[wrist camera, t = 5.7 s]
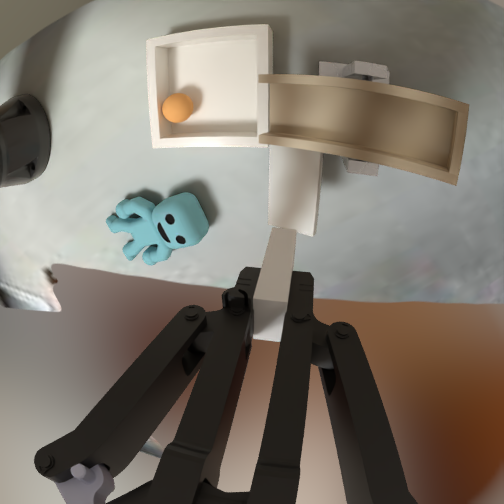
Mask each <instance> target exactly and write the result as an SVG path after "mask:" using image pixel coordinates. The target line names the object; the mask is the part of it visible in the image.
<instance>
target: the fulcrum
mask: <svg viewBox="0 0 504 504" xmlns="http://www.w3.org/2000/svg"><path fill="white" fill-rule="evenodd" d="M319 76H330V77H340V78H350V79H358V80H365V81H372V82H379V83H385V84H389V76H390V71H387V66H385V65H380V64H374V63H368V62H362V61H356V60H355V61H353V62H351V63H350V64H342V63H333V62H323V61H319ZM324 154H328V153H324ZM341 158H342V160H343V163H344V165H345V167H346V170H347V172H348V173H356V174H364V175H371V176H377V175H378V168H379V164H377V163H372V162H368V161H363V160H359V159H354V158H349V157H344V156H341Z"/></svg>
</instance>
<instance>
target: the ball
mask: <svg viewBox="0 0 504 504" xmlns="http://www.w3.org/2000/svg"><path fill="white" fill-rule="evenodd" d="M162 111H163V115H164V116H165V118H166V119H167V120H169V121H171V122H174V123H180V122H183V121H185V120H187V119H188V118H189V117H190V116H191V114H192V112H193V102H192V100H191V99H190V97H189V96H187V95H185V94H182V93H175V94H172V95H170V96H169V97H168V98H167V99H166V100H165V101H164V103H163V107H162Z"/></svg>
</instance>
